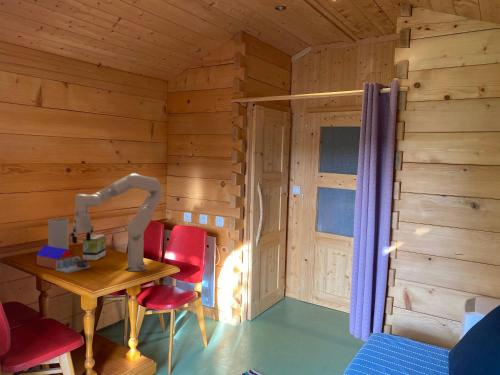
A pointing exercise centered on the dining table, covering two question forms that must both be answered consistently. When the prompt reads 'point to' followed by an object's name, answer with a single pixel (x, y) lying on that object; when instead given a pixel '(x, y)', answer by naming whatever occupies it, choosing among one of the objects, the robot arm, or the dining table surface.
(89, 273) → the dining table surface
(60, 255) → the house
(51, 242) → the cylinder vase
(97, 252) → the tea box
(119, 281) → the dining table surface
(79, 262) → the cube on round rod
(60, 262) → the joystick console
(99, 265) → the dining table surface
